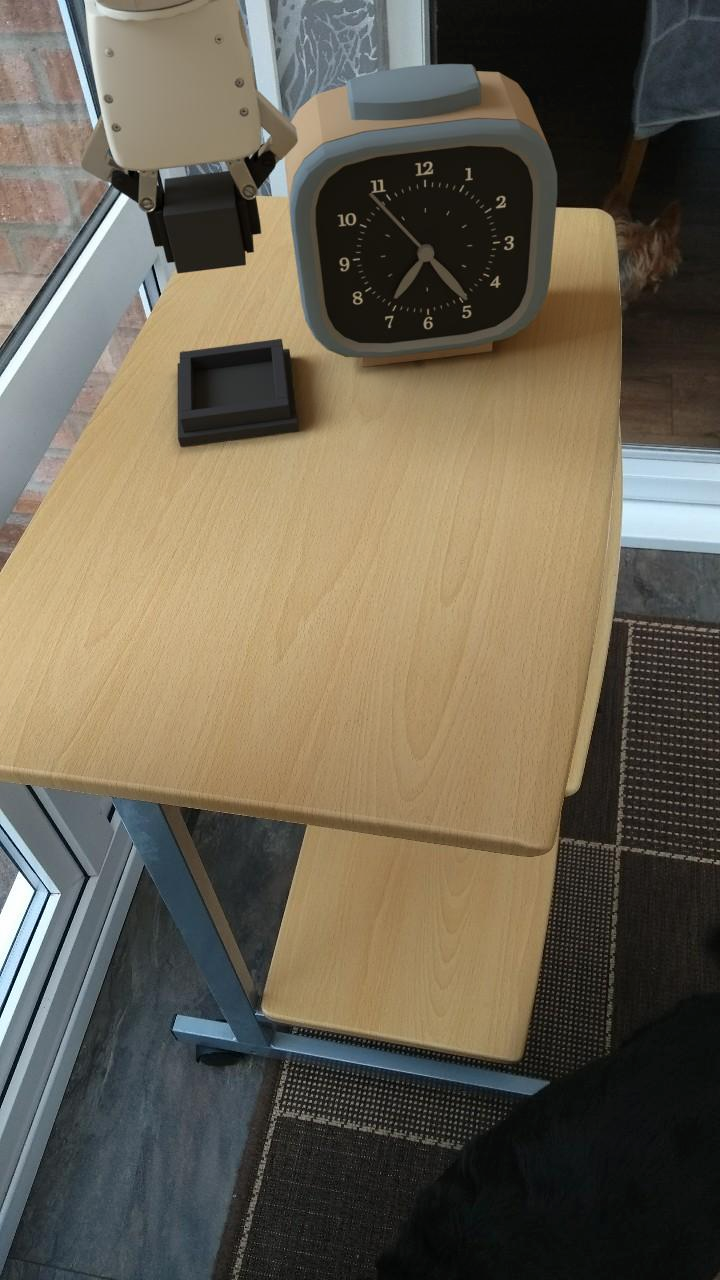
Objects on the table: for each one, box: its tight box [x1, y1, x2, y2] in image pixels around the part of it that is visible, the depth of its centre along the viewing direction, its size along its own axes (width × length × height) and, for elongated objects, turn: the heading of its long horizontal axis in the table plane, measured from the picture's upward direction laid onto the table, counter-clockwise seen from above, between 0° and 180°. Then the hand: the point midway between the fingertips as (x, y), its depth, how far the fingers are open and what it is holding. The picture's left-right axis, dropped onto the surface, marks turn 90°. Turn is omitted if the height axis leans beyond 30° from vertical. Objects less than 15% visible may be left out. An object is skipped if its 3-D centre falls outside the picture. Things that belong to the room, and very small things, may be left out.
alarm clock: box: [284, 63, 558, 367], centre depth 83 cm, size 21×10×22 cm, turn 95°
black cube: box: [163, 170, 247, 274], centre depth 73 cm, size 5×5×4 cm
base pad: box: [176, 338, 300, 448], centre depth 87 cm, size 10×10×2 cm
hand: (210, 245), depth 75 cm, fingers closed on black cube, 5 cm apart
